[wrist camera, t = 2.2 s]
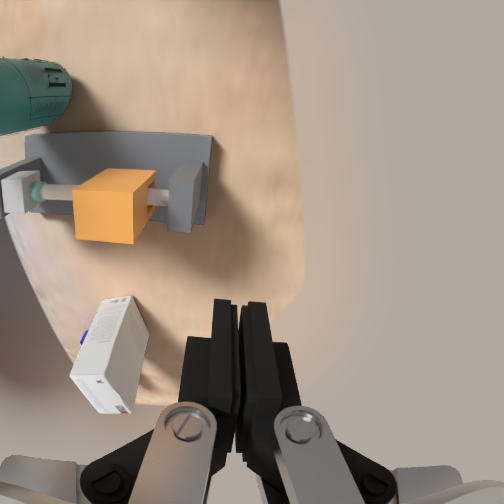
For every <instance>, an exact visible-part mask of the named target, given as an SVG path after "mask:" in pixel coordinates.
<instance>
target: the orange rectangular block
mask: <svg viewBox="0 0 504 504" xmlns="http://www.w3.org/2000/svg"><path fill="white" fill-rule="evenodd" d="M156 173H157V170H138V169H112V168H108V169H106V170H104V171H103V172H101V173H99V174H97V175H96V176H94V177H93V178H91V179H89V180H88V181H86V182H84V183H83V184H81V185H80V186H78V187H76V188H75V189H73V190H72V193H73V210H74V222H75V233H76V239H81V240H92V241H103V242H114V243H125V244H134V243H135V241H136V239H137V238H138V236H139V235H140V233H141V232H142V230H143V228H144V227H145V225H146V224H147V222H148V221H149V219H150V218H151V216H152V215H153V213H154V212H155V205H147V202H148V188H152V189H156Z"/></svg>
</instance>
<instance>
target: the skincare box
mask: <svg viewBox="0 0 504 504" xmlns="http://www.w3.org/2000/svg"><path fill="white" fill-rule="evenodd" d="M148 338H149V332H148V329H147V327H146V325H145V323H144V321H143V319H142V317H141V314H140V312H139V310H138V308H137V306H136V303H135V301H134V299H133V297H132V296H122V297H116V298H110V299H105V300H103V301H102V303H101V305H100V307H99V309H98V311H97V313H96V315H95V318H94V320H93V322H92V324H91V326H90V328H89V331H88V333H87V335H86V337H85V339H84V342H83V344H82V346H81V349H80V351H79V353H78V356H77V358H76V361H75V363H74V365H73V368H72V370H71V373H70V377H71V378H72V380H73V381H74V383H75V384H76V385H77V386H78V388H79V389H80V390H81V392H82V393H83V394H84V395H85V397H86V398H87V399H88V400H89V402H90V403H91V404H92V405H93V406H94V407H95V409H96V410H97V411H98V412H99V413H103V414H116V413H133V409H134V404H135V399H136V393H137V389H138V383H139V378H140V374H141V369H142V364H143V360H144V355H145V351H146V346H147V342H148Z"/></svg>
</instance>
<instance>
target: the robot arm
mask: <svg viewBox="0 0 504 504" xmlns="http://www.w3.org/2000/svg"><path fill="white" fill-rule="evenodd" d="M234 433H235V441H236V442H235V443H236V452H237V453H242V457H243V462H247V467H248V468H250V469H251V470H252V471H253V472H255V473H256V479H257V483H258V487H259V490H260V494H261V497H262V501H263V504H504V482H501V481H495V480H483V481H473V482H468V483H465V484H463V482H462V478H461V476H460V473H459V472H458V471H457V470H456V469H455V468H453V467H451V466H446V465H442V466H431V467H430V466H429V467H411V468H396V469H395V470H394V471H392V470H391V471H389V470H388V469H386V468H385V467H383V466H381V465H380V464H378V463H376V462H374V461H372V460H370V459H369V458H367V457H365V456H363V455H361V454H360V453H358V452H356V451H354V450H353V449H351V448H349V447H347V446H346V445H344V444H342V443H341V442H339V441H337V440H336V439H335V438H334V436H333V433H332V431H331V429H330V427H329V425H328V422H327V421H326V419H325V418H324V416H322V415H321V414H320V413H319V412H318V411H316V410H314V409H312V408H309V407H305V406H301V400H300V396H299V391H298V387H297V383H296V378H295V373H294V369H293V364H292V360H291V356H290V351H289V347H288V344H287V343H282V342H272V336H271V330H270V324H269V318H268V312H267V307H266V303H263V302H248V306H244V305H242V308H241V315H240V322H239V329H238V316H237V305H231V300H224V299H214V308H213V321H212V335H211V338H203V337H192V336H188V337H187V343H186V349H185V356H184V363H183V369H182V376H181V384H180V391H179V398H178V402H177V403H174V404H172V405H169V406H168V407H167V408H165V409H164V410H163V411H162V413H161V414H160V416H159V418H158V421H157V423H156V426H155V429H153V430H151V431H150V432H148V433H146V434H144V435H143V436H141V437H139V438H137V439H136V440H134V441H132V442H130V443H128V444H126V445H125V446H123V447H121V448H119V449H117V450H115V451H113V452H111V453H109V454H107V455H105V456H103V457H102V458H100V459H98V460H96V461H94V462H92V463H90V464H89V465H78V464H77V463H76V462H69V461H60V460H50V459H41V458H34V457H28V456H22V455H11V456H9V457H7V458H5V459H4V460H3V462H2V463H1V466H0V504H207V501H208V496H209V491H210V486H211V481H212V476H213V475H214V474H215V473H217V472H218V471H219V470H220V469H222V468H223V467H224V466H225V463H226V457H227V453H230V452H231V449H232V444H233V438H234Z"/></svg>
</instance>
